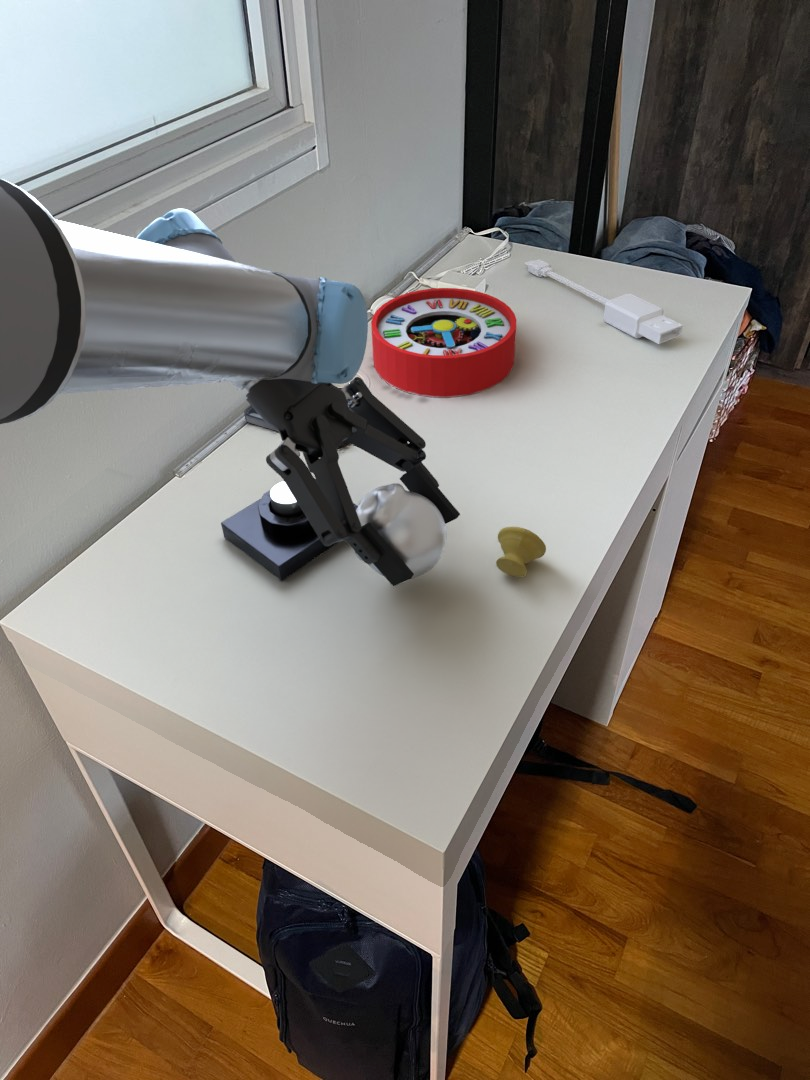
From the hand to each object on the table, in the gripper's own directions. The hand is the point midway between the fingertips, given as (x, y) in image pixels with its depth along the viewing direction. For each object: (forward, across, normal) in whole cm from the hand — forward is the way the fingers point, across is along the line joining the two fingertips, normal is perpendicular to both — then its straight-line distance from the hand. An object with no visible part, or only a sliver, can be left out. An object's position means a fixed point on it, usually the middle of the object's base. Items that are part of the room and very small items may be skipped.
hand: (427, 549), depth 80 cm
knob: (+9, -7, +1) cm, 11 cm away
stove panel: (-8, -1, -16) cm, 18 cm away
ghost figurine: (+1, 0, -5) cm, 5 cm away
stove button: (-11, -1, -13) cm, 17 cm away
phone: (-16, -19, -24) cm, 34 cm away
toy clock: (-10, -40, -18) cm, 45 cm away
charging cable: (0, -65, -8) cm, 65 cm away
